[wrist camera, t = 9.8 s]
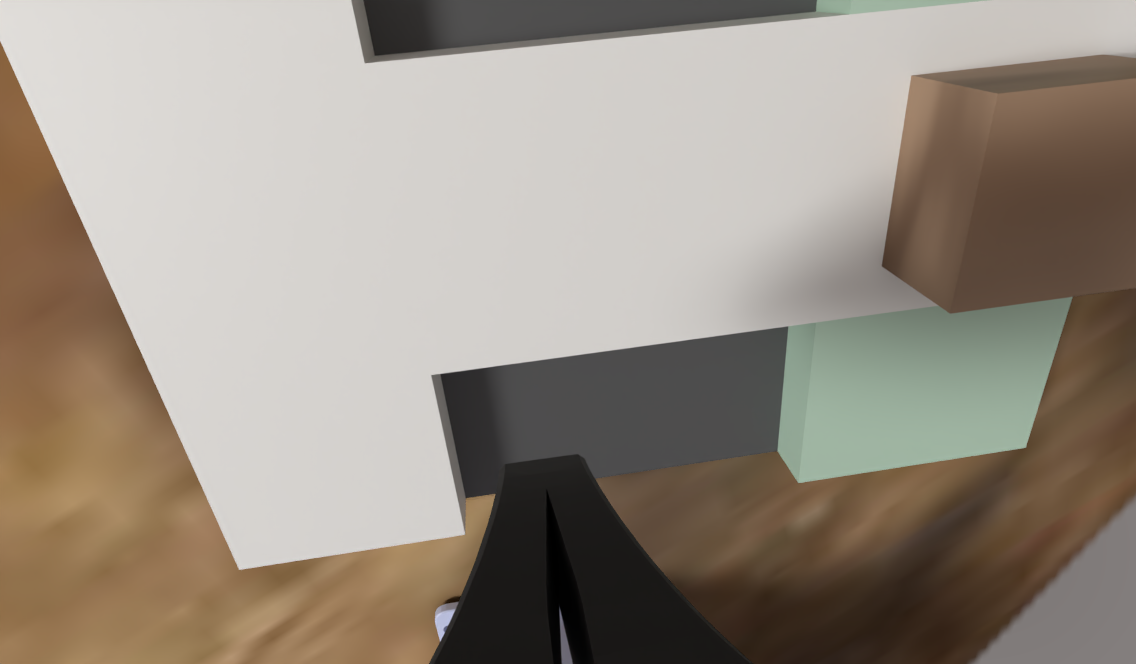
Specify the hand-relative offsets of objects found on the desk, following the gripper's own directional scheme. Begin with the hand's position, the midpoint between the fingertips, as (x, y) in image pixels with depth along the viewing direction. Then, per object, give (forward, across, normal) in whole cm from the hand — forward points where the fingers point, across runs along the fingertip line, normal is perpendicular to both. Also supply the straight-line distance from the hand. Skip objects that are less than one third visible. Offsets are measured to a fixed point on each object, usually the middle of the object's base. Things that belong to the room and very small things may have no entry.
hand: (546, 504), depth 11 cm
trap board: (+9, -3, -2) cm, 10 cm away
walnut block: (+7, -13, -3) cm, 15 cm away
